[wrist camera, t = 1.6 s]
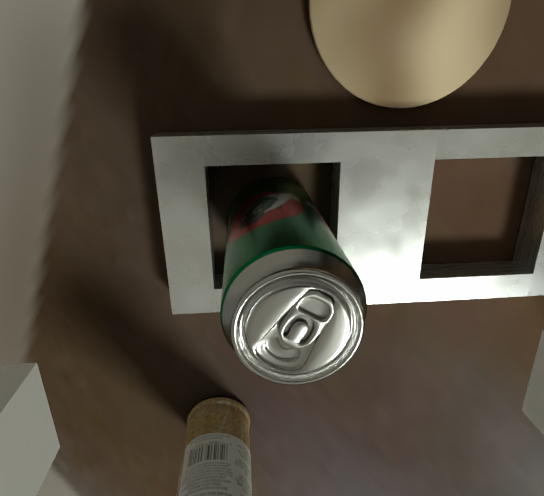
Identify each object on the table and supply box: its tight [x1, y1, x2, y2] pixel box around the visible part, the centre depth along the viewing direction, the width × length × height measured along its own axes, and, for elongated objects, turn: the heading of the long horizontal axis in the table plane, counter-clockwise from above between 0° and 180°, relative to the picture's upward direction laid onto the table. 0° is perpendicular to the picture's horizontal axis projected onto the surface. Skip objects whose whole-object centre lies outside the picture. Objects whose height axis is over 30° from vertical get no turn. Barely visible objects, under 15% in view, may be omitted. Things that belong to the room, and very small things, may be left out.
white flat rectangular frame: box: [151, 123, 544, 314], centre depth 24 cm, size 24×10×2 cm, turn 91°
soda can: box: [220, 177, 367, 385], centre depth 19 cm, size 5×5×12 cm
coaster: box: [308, 0, 511, 108], centre depth 20 cm, size 10×10×1 cm
